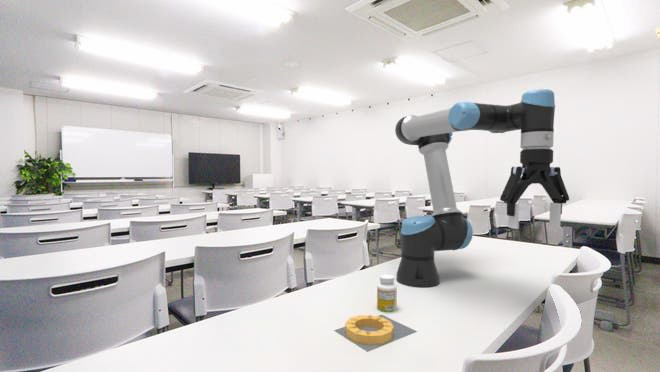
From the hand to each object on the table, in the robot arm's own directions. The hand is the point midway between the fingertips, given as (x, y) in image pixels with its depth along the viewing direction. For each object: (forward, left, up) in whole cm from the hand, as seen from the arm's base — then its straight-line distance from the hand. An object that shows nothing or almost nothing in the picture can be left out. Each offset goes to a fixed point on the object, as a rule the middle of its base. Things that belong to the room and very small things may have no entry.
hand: (534, 227), depth 88 cm
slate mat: (-17, -42, -24) cm, 52 cm away
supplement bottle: (-25, -30, -24) cm, 46 cm away
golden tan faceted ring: (-17, -44, -24) cm, 53 cm away
